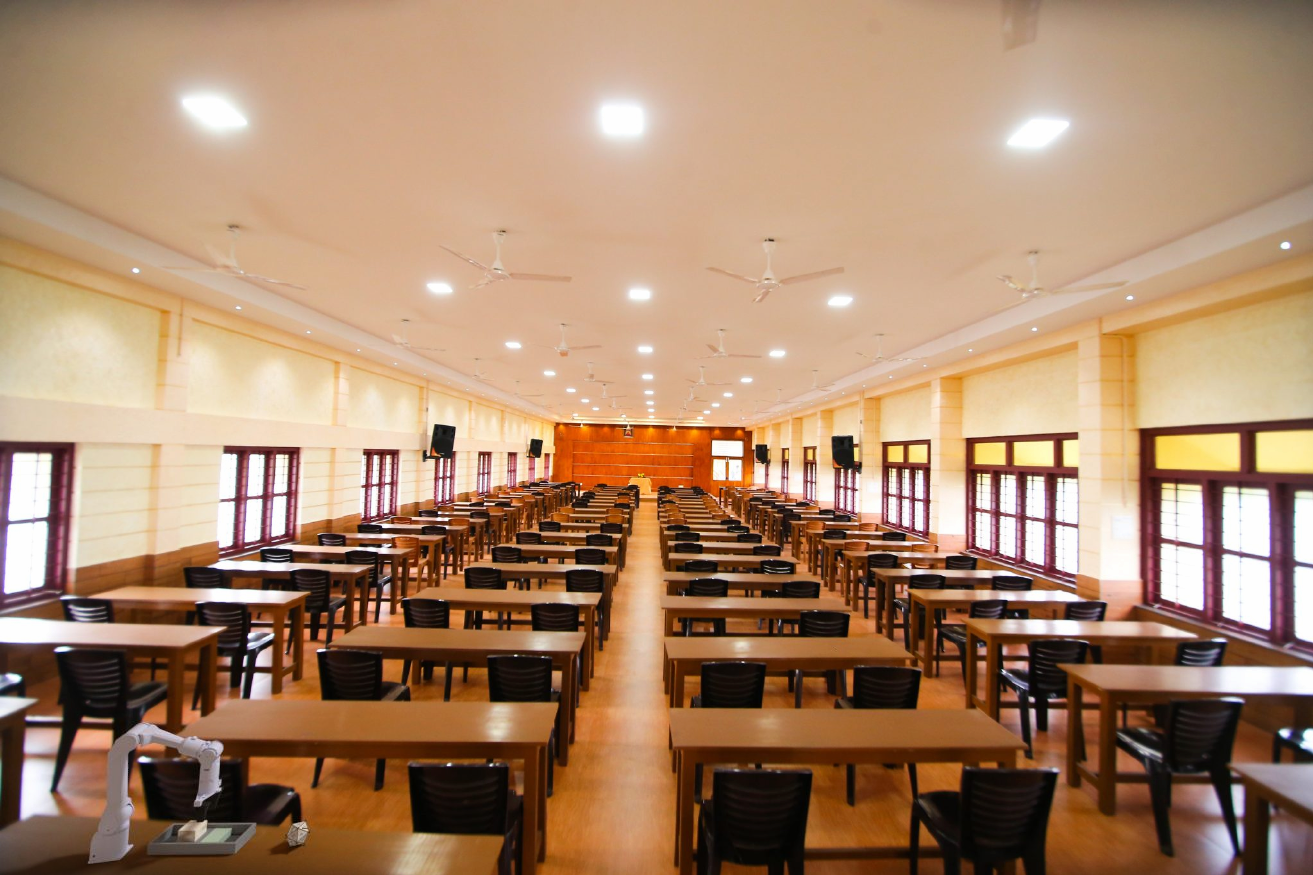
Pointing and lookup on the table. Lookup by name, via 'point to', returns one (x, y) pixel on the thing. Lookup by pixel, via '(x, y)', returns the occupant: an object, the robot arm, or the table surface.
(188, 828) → the cream block
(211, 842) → the gray tray
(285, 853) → the table surface
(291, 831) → the game die
